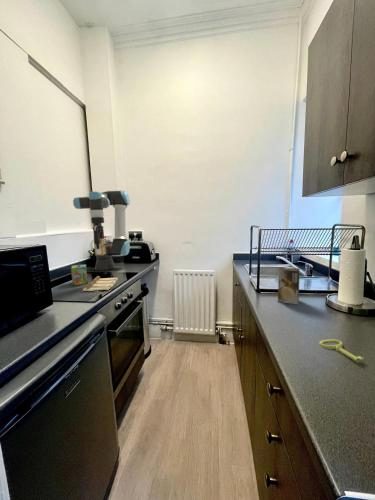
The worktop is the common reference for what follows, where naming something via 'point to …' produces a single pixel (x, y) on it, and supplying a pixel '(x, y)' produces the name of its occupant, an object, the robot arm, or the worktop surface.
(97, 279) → the guide board
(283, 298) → the coffee box
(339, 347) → the key
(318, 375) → the worktop surface
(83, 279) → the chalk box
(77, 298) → the worktop surface
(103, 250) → the marking gauge
